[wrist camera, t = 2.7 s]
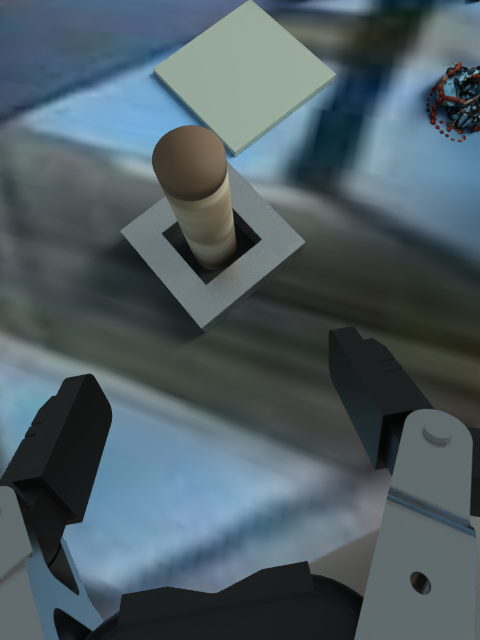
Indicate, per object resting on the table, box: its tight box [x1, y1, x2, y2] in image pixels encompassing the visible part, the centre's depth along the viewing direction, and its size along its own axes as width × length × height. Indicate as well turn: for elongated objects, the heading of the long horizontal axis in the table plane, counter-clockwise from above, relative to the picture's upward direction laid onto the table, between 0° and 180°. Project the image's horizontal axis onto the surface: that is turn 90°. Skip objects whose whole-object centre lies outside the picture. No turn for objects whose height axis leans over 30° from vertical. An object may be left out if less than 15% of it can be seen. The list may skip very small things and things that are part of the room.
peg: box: [152, 125, 237, 270], centre depth 23 cm, size 4×4×12 cm
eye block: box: [121, 162, 305, 333], centre depth 28 cm, size 11×11×2 cm
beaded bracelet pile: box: [426, 62, 480, 142], centre depth 31 cm, size 8×7×8 cm
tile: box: [153, 0, 336, 157], centre depth 32 cm, size 13×13×1 cm
